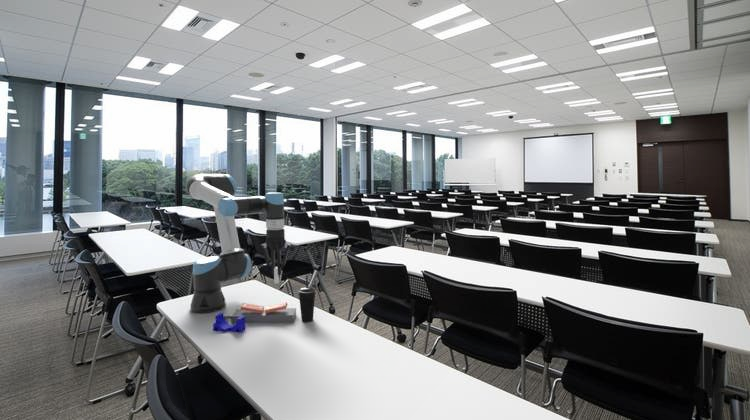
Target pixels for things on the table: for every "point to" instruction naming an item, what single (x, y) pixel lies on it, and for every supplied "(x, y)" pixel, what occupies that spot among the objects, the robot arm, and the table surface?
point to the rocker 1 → (252, 308)
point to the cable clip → (224, 326)
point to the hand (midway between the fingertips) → (276, 282)
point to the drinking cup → (307, 302)
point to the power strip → (264, 316)
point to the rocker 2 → (276, 307)
